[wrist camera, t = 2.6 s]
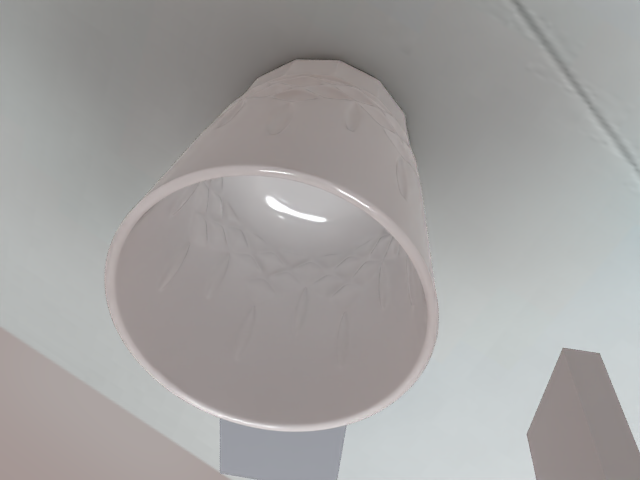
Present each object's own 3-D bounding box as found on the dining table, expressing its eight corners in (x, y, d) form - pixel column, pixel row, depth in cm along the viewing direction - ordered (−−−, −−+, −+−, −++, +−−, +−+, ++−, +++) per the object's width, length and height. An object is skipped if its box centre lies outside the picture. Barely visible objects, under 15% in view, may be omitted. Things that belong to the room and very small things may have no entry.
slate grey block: (248, 310, 27) (219, 392, 23) (357, 327, 27) (348, 413, 23) (246, 387, 30) (219, 473, 26) (345, 403, 30) (335, 492, 25)
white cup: (190, 185, 24) (73, 360, 16) (261, -3, 20) (154, 99, 11) (365, 265, 25) (344, 470, 17) (469, 102, 21) (510, 267, 12)
